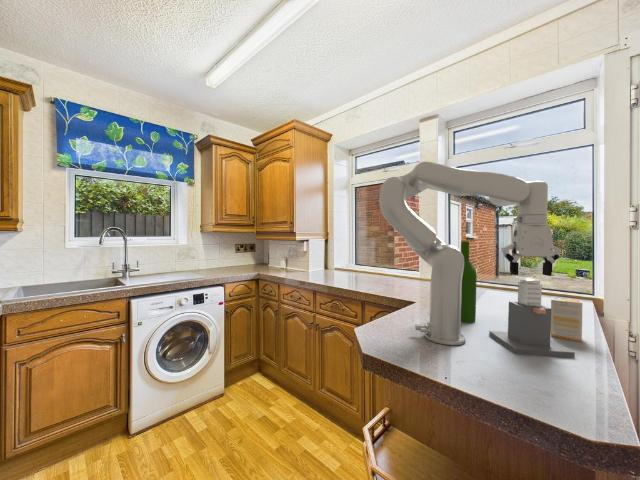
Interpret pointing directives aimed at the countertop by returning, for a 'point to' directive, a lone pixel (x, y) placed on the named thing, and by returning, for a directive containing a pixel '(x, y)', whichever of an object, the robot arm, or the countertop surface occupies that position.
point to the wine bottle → (468, 287)
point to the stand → (530, 332)
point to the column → (529, 293)
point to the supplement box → (566, 319)
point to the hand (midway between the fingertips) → (530, 274)
